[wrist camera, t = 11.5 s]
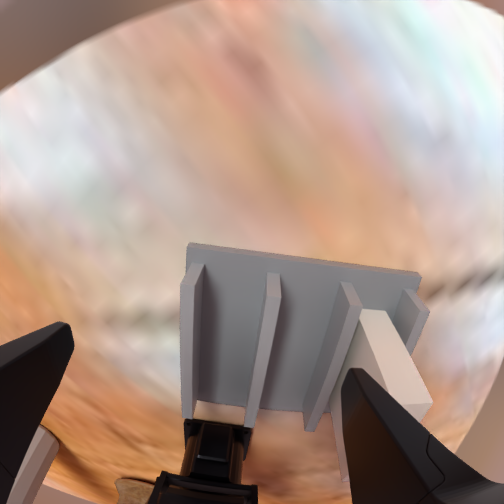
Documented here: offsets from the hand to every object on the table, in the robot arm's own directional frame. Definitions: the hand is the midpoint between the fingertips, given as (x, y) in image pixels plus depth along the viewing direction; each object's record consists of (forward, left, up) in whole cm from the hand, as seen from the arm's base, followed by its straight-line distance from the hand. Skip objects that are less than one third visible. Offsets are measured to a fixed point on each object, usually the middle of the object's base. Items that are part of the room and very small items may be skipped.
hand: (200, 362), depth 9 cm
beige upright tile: (-8, -10, -11) cm, 17 cm away
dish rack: (-8, -5, -12) cm, 15 cm away
